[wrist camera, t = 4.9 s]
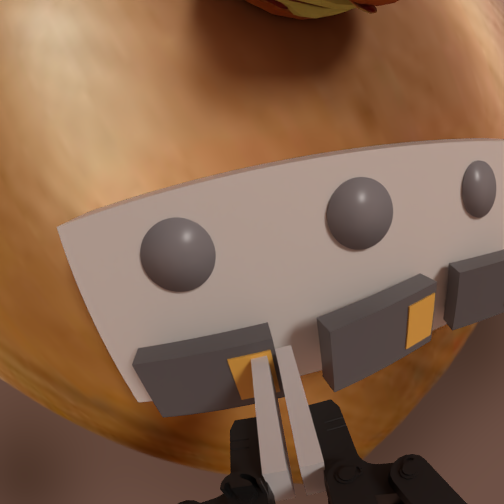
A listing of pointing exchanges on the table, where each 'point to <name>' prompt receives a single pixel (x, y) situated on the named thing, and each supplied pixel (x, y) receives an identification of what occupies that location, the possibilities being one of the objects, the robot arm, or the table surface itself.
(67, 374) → the table surface
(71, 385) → the table surface
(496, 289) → the rocker right
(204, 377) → the rocker left
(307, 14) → the cheeseburger
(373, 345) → the rocker middle
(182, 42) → the table surface
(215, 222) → the rocker switch panel
